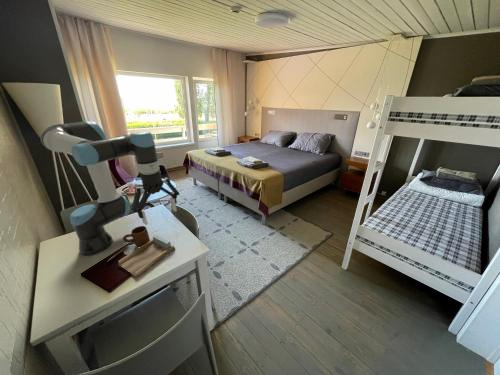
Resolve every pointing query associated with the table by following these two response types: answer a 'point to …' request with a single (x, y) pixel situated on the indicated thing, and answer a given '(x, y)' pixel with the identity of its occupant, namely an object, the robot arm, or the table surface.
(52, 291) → the table surface
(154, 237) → the bar
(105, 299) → the table surface
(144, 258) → the housing base
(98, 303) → the table surface
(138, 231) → the mug
